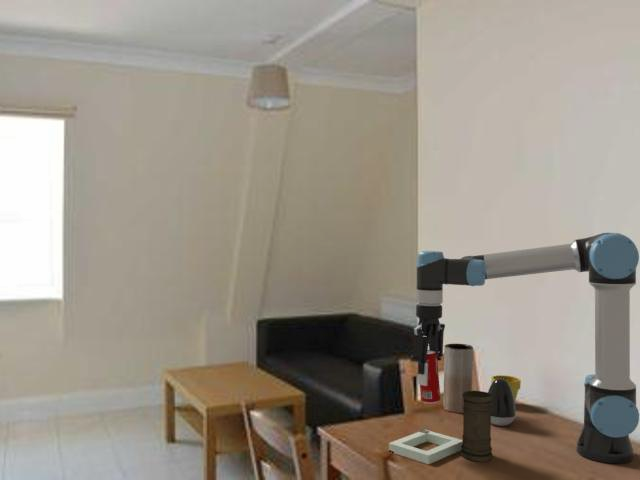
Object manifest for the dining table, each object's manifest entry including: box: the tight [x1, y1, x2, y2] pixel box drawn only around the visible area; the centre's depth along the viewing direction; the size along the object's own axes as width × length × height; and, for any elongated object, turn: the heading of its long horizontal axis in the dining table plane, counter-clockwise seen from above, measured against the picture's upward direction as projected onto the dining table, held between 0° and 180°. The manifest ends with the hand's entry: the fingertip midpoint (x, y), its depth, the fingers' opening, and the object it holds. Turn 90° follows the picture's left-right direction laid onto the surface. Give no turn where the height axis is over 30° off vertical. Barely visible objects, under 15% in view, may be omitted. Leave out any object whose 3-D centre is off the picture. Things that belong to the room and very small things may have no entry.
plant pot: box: [490, 374, 521, 402], centre depth 244 cm, size 10×10×10 cm
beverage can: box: [419, 349, 441, 405], centre depth 195 cm, size 6×6×15 cm
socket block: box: [388, 429, 463, 465], centre depth 195 cm, size 14×18×3 cm
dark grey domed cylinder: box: [487, 378, 517, 427], centre depth 221 cm, size 10×10×15 cm
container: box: [460, 390, 493, 463], centre depth 190 cm, size 9×9×18 cm
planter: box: [442, 343, 474, 414], centre depth 237 cm, size 10×10×23 cm
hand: (427, 383), depth 194 cm, fingers open, 4 cm apart
